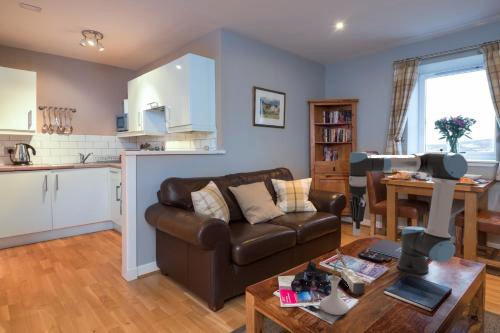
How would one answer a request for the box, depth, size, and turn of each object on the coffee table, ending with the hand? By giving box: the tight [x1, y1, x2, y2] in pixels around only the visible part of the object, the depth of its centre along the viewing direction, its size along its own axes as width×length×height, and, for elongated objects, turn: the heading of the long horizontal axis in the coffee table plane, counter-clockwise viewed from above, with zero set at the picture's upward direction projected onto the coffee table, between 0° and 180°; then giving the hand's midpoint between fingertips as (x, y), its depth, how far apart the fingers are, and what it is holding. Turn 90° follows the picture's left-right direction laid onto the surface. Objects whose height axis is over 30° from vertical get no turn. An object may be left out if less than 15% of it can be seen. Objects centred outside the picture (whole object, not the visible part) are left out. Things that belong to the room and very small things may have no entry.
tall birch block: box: [340, 268, 366, 295], centre depth 140 cm, size 5×5×15 cm
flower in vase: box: [319, 248, 349, 316], centre depth 120 cm, size 13×11×25 cm
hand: (356, 234), depth 135 cm, fingers closed
